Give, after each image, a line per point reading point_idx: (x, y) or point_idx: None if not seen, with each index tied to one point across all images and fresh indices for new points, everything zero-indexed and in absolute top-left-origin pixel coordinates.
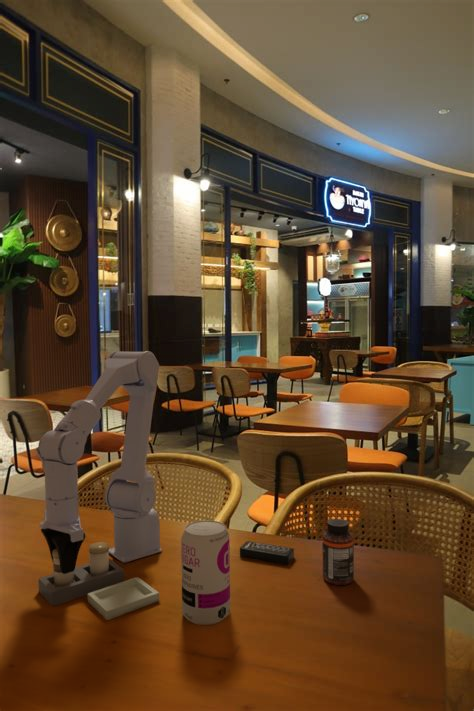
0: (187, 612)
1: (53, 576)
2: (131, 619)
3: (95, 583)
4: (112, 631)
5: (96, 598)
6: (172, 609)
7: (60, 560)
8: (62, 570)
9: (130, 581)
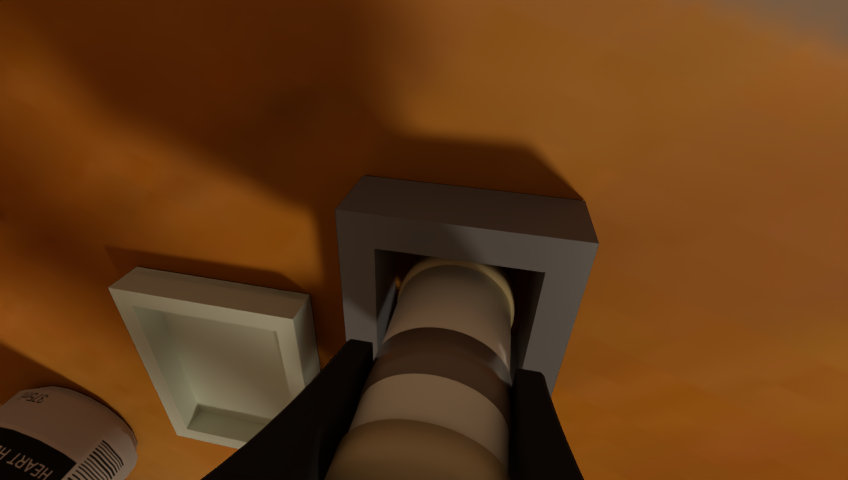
0: (24, 405)
1: (537, 309)
2: (117, 314)
3: None
4: (59, 239)
5: (229, 317)
6: (136, 400)
7: (293, 414)
8: (336, 354)
9: None
